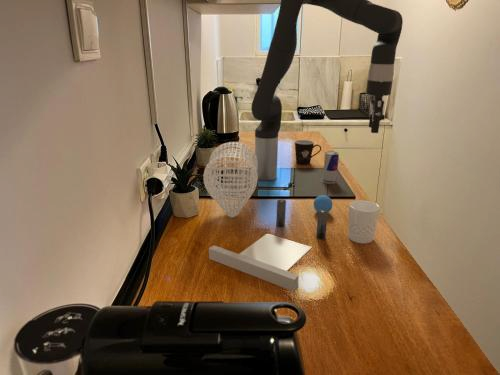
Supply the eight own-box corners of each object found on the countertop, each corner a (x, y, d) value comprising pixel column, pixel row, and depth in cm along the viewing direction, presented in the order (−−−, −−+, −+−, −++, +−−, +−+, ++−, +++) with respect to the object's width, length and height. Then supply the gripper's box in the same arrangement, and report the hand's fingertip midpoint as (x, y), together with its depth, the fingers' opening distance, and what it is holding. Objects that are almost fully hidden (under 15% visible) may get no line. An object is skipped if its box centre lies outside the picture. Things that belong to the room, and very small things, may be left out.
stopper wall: (209, 258, 96) (208, 248, 95) (214, 255, 97) (213, 245, 96) (293, 291, 83) (294, 279, 82) (297, 286, 85) (298, 275, 84)
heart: (213, 199, 133) (211, 137, 125) (256, 200, 133) (258, 138, 125) (202, 236, 107) (199, 161, 99) (256, 237, 107) (258, 162, 99)
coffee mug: (291, 164, 174) (292, 143, 170) (296, 159, 181) (297, 139, 178) (316, 167, 170) (318, 145, 166) (320, 162, 177) (322, 141, 174)
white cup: (375, 234, 109) (379, 202, 106) (374, 247, 102) (379, 213, 99) (347, 230, 112) (351, 198, 108) (344, 242, 105) (348, 209, 101)
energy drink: (336, 184, 149) (339, 155, 145) (322, 183, 150) (324, 154, 146) (336, 180, 154) (338, 151, 149) (322, 179, 155) (325, 150, 150)
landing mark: (239, 254, 98) (239, 253, 98) (267, 234, 109) (267, 233, 109) (286, 271, 90) (286, 271, 90) (311, 247, 101) (311, 247, 101)
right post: (314, 237, 107) (316, 211, 104) (318, 234, 109) (320, 208, 106) (323, 240, 105) (325, 214, 103) (326, 236, 107) (329, 211, 105)
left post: (274, 226, 114) (275, 201, 111) (278, 223, 116) (279, 198, 113) (282, 228, 112) (283, 203, 109) (286, 225, 114) (287, 200, 111)
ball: (309, 213, 122) (311, 196, 120) (317, 207, 127) (318, 191, 125) (327, 218, 119) (328, 200, 117) (334, 211, 124) (336, 194, 122)
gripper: (366, 76, 126) (360, 125, 132) (369, 80, 113) (362, 134, 119) (389, 77, 125) (382, 126, 130) (395, 81, 112) (387, 135, 117)
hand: (373, 130), depth 125 cm, fingers open, 8 cm apart
